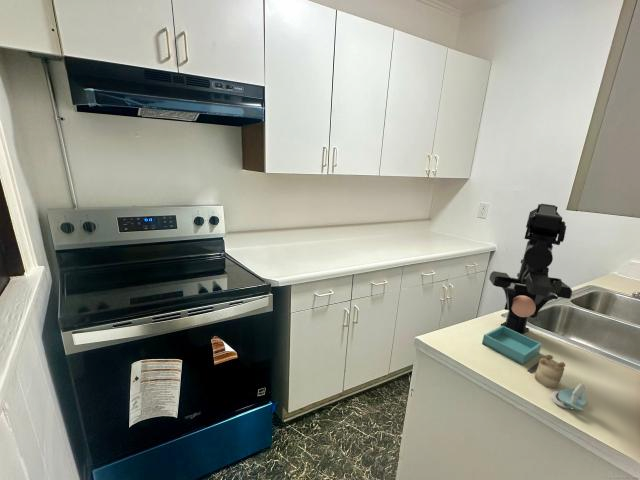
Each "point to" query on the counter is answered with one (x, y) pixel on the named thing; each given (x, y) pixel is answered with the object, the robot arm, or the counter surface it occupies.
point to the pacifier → (571, 397)
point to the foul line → (535, 367)
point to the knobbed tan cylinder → (549, 372)
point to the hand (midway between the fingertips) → (521, 312)
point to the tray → (512, 344)
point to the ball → (523, 306)
